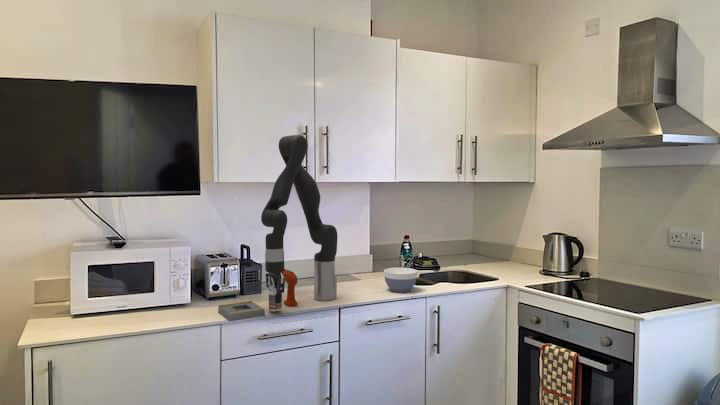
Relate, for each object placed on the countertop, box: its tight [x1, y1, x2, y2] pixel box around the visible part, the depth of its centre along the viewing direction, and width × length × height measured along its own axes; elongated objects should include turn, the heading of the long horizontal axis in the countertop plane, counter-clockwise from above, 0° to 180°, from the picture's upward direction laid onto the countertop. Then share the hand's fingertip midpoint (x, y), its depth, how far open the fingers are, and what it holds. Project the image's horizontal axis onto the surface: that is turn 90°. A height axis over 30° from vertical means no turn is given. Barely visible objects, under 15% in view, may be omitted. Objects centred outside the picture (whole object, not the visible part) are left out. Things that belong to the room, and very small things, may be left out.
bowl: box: [383, 267, 418, 293], centre depth 243 cm, size 16×16×10 cm
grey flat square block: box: [217, 300, 266, 322], centre depth 201 cm, size 14×14×3 cm
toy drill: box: [281, 268, 299, 308], centre depth 219 cm, size 5×19×15 cm, turn 29°
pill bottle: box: [268, 285, 283, 312], centre depth 203 cm, size 5×5×10 cm
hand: (275, 301), depth 203 cm, fingers closed on pill bottle, 5 cm apart
